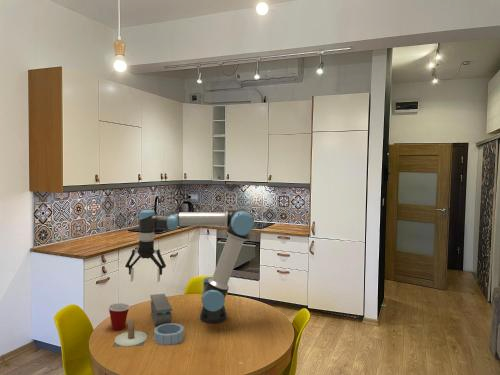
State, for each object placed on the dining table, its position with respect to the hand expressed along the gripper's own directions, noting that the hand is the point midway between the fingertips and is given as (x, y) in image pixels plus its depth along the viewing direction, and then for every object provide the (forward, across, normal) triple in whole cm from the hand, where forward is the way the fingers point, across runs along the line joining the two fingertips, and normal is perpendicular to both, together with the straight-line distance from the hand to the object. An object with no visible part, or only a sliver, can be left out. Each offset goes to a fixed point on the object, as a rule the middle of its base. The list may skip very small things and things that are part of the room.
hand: (145, 281), depth 191 cm
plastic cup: (+26, +13, -1) cm, 29 cm away
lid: (+25, +4, +13) cm, 28 cm away
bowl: (+25, -14, +12) cm, 31 cm away
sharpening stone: (+25, -7, -10) cm, 28 cm away
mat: (+25, +4, +13) cm, 29 cm away
